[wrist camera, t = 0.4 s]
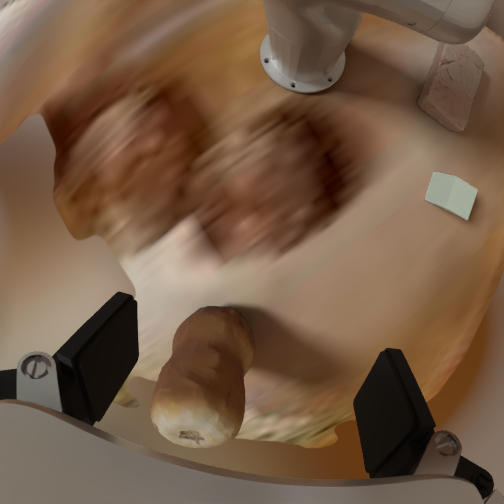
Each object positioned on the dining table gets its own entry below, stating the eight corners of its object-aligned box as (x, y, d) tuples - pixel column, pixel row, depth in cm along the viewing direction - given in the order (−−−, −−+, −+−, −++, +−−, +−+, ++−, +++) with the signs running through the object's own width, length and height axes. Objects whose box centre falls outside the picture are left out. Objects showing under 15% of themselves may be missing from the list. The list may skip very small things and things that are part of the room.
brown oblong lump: (246, 362, 53) (225, 472, 30) (180, 341, 53) (130, 441, 30) (268, 304, 49) (254, 423, 25) (192, 281, 49) (128, 381, 25)
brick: (439, 37, 30) (451, 29, 26) (474, 65, 30) (487, 61, 26) (412, 105, 36) (425, 101, 31) (450, 134, 36) (464, 134, 32)
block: (433, 171, 38) (455, 176, 32) (454, 183, 38) (477, 189, 32) (424, 199, 40) (445, 208, 33) (445, 210, 40) (467, 220, 34)
